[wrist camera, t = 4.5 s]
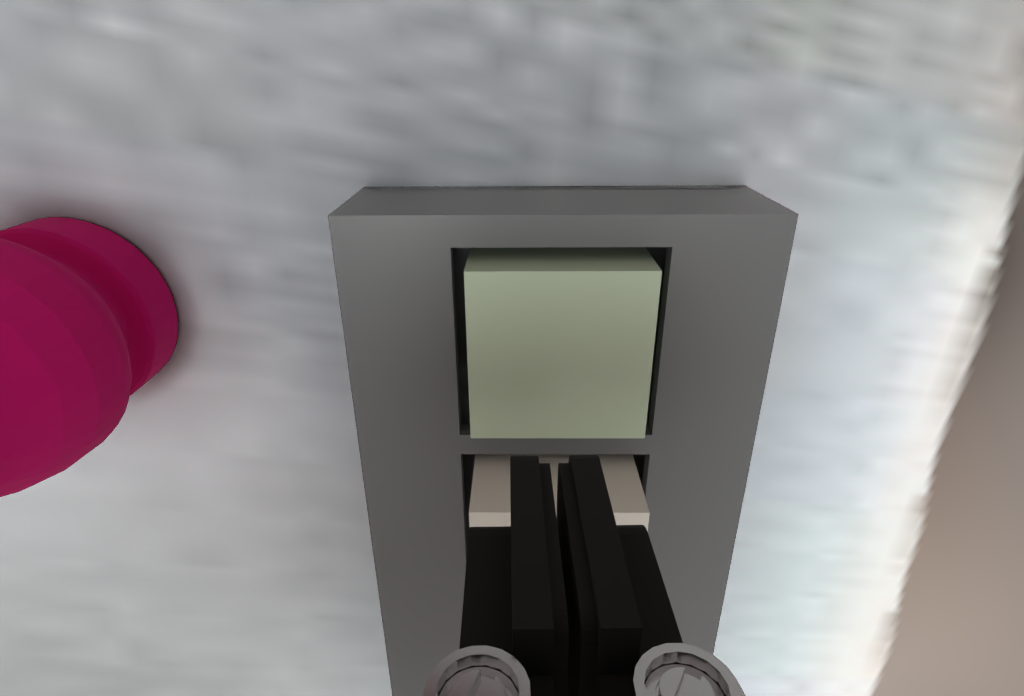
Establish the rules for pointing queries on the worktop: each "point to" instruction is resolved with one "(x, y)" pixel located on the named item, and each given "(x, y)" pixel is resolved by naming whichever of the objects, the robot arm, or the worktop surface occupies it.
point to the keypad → (451, 451)
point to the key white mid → (494, 488)
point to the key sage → (560, 341)
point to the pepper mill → (72, 341)
